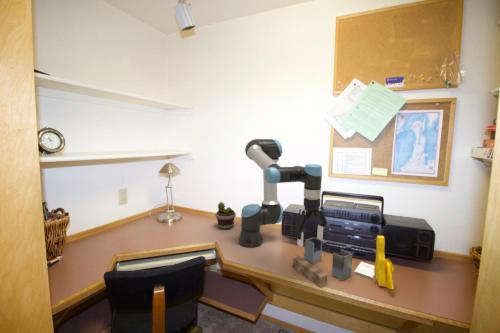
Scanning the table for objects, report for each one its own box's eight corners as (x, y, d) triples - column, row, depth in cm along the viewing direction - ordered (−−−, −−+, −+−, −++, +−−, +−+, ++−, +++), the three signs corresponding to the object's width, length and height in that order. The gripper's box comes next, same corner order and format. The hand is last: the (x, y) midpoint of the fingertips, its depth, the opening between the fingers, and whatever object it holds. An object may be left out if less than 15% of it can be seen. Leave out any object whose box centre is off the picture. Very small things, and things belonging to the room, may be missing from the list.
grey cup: (331, 275, 112) (332, 253, 111) (340, 270, 116) (342, 249, 115) (342, 280, 108) (343, 258, 106) (351, 276, 112) (352, 254, 110)
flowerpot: (238, 224, 178) (238, 198, 176) (232, 232, 163) (232, 204, 161) (220, 222, 181) (220, 197, 179) (212, 230, 166) (212, 202, 164)
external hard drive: (353, 274, 114) (360, 264, 124) (372, 280, 109) (378, 269, 118) (354, 271, 114) (361, 261, 123) (372, 277, 109) (378, 266, 118)
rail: (292, 267, 119) (292, 257, 119) (298, 265, 121) (298, 256, 121) (320, 287, 103) (320, 277, 102) (326, 285, 105) (327, 274, 104)
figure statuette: (398, 298, 96) (402, 246, 94) (376, 294, 99) (380, 243, 96) (387, 275, 113) (391, 231, 110) (369, 271, 115) (373, 228, 113)
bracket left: (304, 259, 127) (305, 239, 125) (313, 256, 131) (313, 237, 129) (312, 264, 122) (313, 243, 121) (321, 260, 126) (322, 240, 125)
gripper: (298, 203, 98) (297, 252, 100) (336, 196, 112) (333, 239, 114) (286, 199, 104) (285, 245, 106) (323, 193, 118) (321, 233, 120)
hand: (310, 242), depth 110 cm, fingers open, 13 cm apart
